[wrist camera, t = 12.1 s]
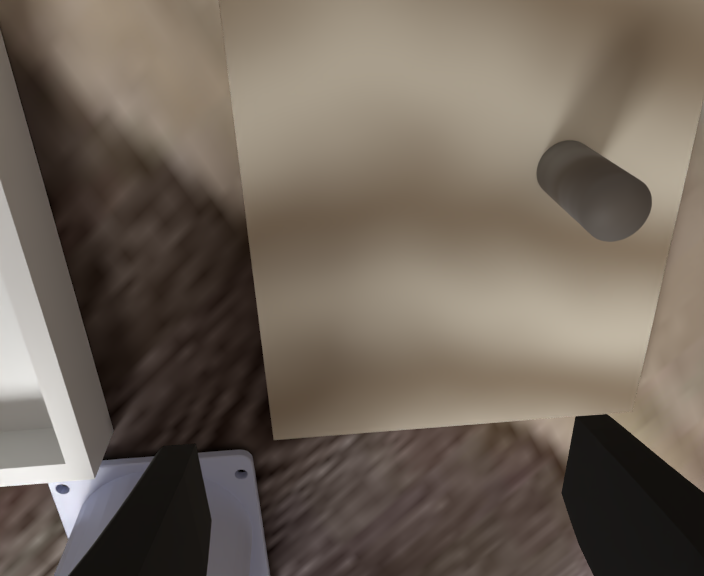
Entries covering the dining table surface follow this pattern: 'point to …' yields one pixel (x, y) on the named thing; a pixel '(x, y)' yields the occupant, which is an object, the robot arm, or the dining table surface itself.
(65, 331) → the tray
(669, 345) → the dining table surface
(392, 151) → the board
